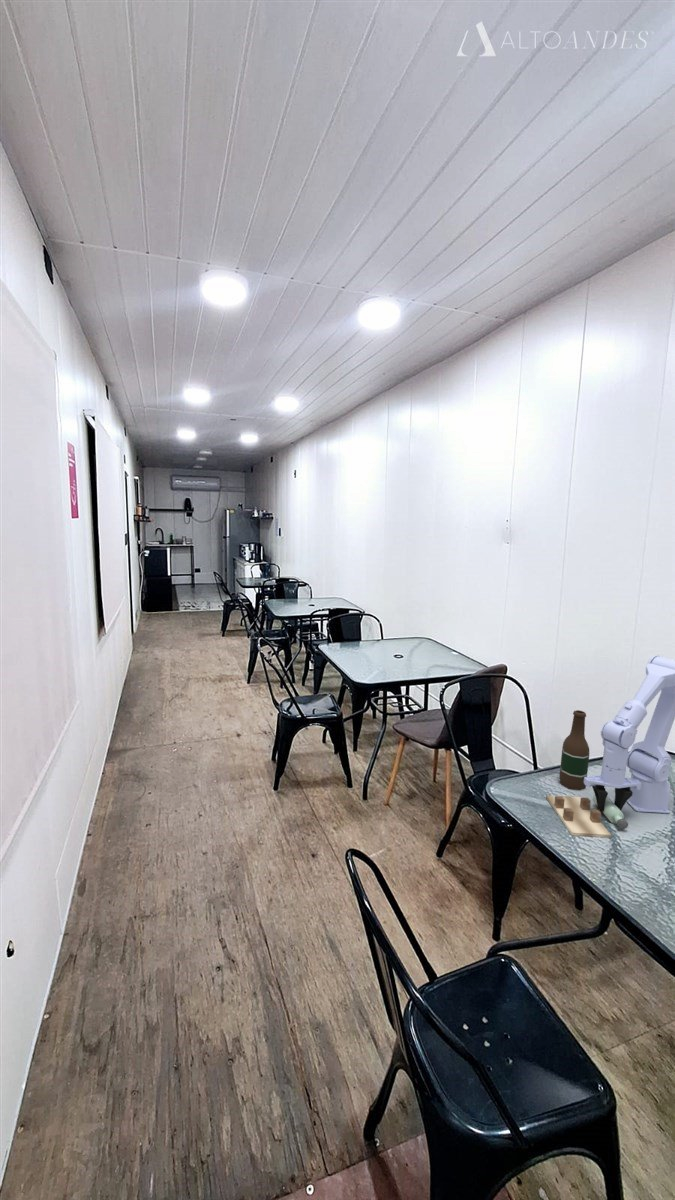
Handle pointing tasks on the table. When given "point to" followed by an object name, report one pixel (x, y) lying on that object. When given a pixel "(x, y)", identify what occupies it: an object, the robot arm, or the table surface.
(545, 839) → the table surface
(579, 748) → the beer bottle
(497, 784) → the table surface
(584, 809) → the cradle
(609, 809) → the bottle
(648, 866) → the table surface
